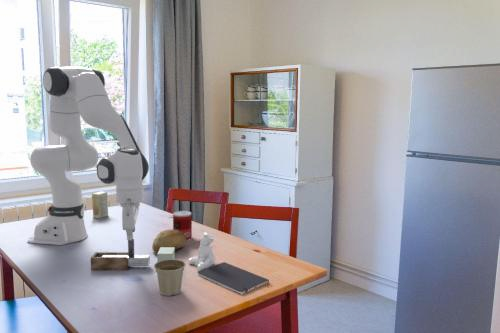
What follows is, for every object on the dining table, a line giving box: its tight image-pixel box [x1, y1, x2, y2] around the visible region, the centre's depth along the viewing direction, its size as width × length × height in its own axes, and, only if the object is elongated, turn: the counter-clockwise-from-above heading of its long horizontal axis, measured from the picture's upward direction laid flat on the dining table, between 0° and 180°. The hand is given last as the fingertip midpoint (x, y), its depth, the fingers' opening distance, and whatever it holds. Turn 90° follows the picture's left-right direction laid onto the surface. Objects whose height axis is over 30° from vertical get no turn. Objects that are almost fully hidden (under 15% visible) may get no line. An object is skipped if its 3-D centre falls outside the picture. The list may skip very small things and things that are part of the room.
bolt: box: [102, 238, 151, 267], centre depth 147 cm, size 16×3×9 cm, turn 93°
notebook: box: [197, 261, 270, 294], centre depth 140 cm, size 13×2×21 cm
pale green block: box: [156, 247, 176, 263], centre depth 148 cm, size 5×6×6 cm
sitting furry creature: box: [188, 232, 217, 272], centre depth 151 cm, size 10×9×12 cm
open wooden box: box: [90, 251, 130, 271], centre depth 148 cm, size 12×5×4 cm, turn 93°
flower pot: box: [153, 258, 187, 297], centre depth 130 cm, size 9×9×9 cm
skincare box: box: [91, 190, 109, 219], centre depth 210 cm, size 6×4×12 cm
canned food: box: [172, 210, 193, 241], centre depth 180 cm, size 8×8×11 cm
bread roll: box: [152, 228, 188, 254], centre depth 166 cm, size 10×15×8 cm, turn 138°
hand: (131, 235), depth 146 cm, fingers open, 8 cm apart
